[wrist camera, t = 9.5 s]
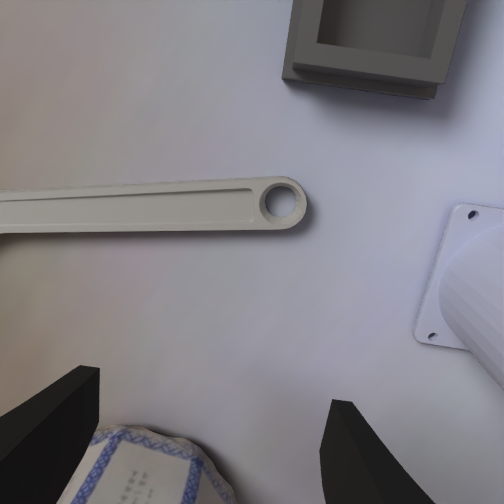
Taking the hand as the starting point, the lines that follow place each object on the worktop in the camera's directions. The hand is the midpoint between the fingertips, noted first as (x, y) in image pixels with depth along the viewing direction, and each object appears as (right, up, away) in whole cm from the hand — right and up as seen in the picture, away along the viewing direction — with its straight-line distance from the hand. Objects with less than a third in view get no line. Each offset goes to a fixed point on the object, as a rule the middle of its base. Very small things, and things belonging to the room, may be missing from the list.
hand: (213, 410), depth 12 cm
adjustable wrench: (-9, +7, +10) cm, 15 cm away
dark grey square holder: (+7, +16, +5) cm, 18 cm away
